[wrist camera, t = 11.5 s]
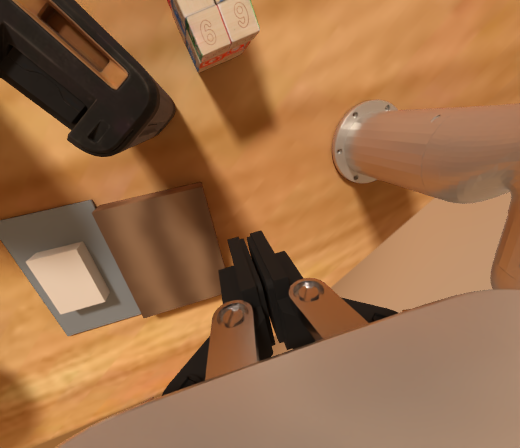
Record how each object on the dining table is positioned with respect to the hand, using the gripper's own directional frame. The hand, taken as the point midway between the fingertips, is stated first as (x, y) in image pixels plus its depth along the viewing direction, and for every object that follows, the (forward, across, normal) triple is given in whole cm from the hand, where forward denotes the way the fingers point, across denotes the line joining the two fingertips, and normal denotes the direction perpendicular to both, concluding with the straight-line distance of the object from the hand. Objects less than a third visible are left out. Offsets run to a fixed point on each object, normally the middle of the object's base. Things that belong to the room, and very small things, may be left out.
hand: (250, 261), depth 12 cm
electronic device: (+27, +7, -10) cm, 29 cm away
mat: (+26, +23, +10) cm, 36 cm away
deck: (+26, +10, +10) cm, 30 cm away
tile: (+24, +23, +10) cm, 35 cm away
